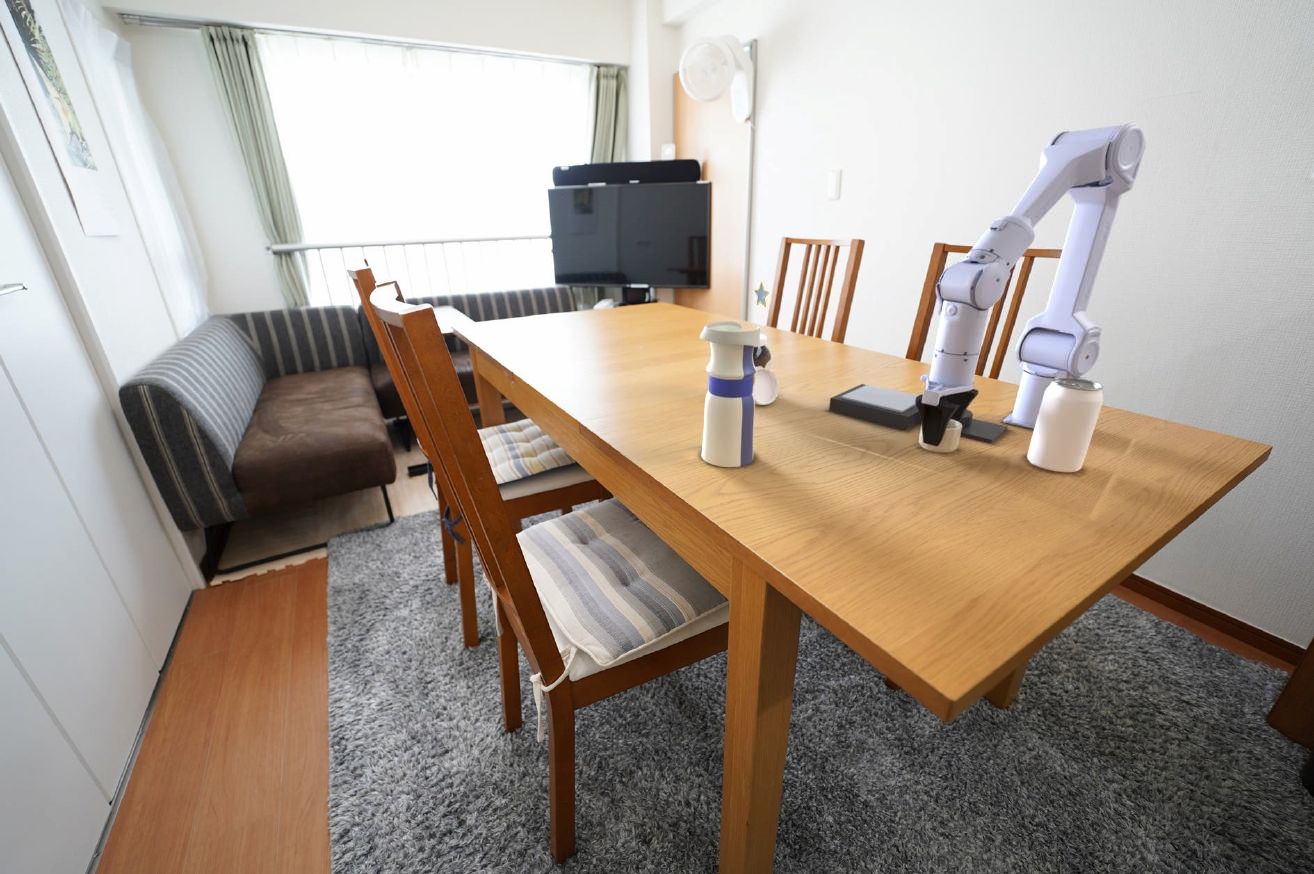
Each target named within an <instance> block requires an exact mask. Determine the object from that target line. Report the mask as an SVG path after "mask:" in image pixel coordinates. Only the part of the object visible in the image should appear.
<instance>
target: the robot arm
mask: <svg viewBox="0 0 1314 874" xmlns="http://www.w3.org/2000/svg"><path fill="white" fill-rule="evenodd" d="M1146 145H1147V142H1146V139H1145V136H1144V131H1143V130H1142V128H1141V126H1140V124H1138V123H1137V122H1127V123H1124V124H1119V125H1113V126H1105V127H1096V128H1088V129H1087V128H1086V129H1081V130H1080V129H1079V130H1073V131H1069V130H1066V131H1065V130H1063V131H1059V132H1058V133H1056V134H1055V135H1054V136H1053V137H1052V138H1051V139H1050V140H1049V142H1048V144H1047V145H1046V147H1045V148H1044V149H1043V150H1042V151H1041V154H1040V160H1039V171H1038V173H1037V174H1036V176H1035V177H1034V178H1033V180H1032V182H1030V184H1029V186H1028V187H1027V189H1026V190H1025V192H1024V193H1023V195H1022V196H1021V198H1020V199H1019V201H1018V202H1017V203H1016V205H1015V206H1014V208H1013V209H1012V211H1011V212H1010V213H1009V215H1003V216H1000V217H998V218H996V219H994V220H993V222H992V223H991V224H990V225H989V226H988V228H987V229H986V230H985V232H984V233H983V234H981V237H980V238H979V239H978V241H976V243H975V244H974V245H973V246H972V248H971V249H970V250H969V251H968V253H967V254H966V255H965V257H964V258H963V259H962V260H961V261H958V262H955V263H953V264H952V265H950V266H948V267H947V268H945V269H944V270H943V272H942V274H941V276H940V277H939V280H938V282H937V283H936V284H935V295H936V298H937V302H938V306H937V313H938V316H939V317H940V318H939V323H938V328H937V334H936V339H935V344H934V350H933V354H932V359H931V360H932V361H931V366H930V371H929V374H926V373H924V374H922V375H921V376H920V379H919V380H920V382H924V383H926V388H925V389H923V392H922V394H919V396H917V397H916V400H915V404H916V406H917V408H918V411H919V414H920V417H921V422H920V423H922V436H923V443H925V444H929V445H933V446H938V445H939V444H940V442H941V441H942V438H943V436H944V433H945V430H946V427H947V425H948V423H949V421H950V419H953V420H956V421H958V422H960V421H961V419H962V417H963V415H964V413H965V411H966V409H967V410H968V408H969V406H970V405H971V403H972V402H973V401H974V400H975V399H976V397H977V396H978V395H979V392H980V391H979V390H978V389H976V388H974V386H975V375H976V372H977V371H976V370H977V366H978V363H979V357H980V352H981V347H982V343H983V340H984V339H983V338H984V334H985V330H986V324H987V320H988V316H989V311H990V308H992V307H994V305H996V304H997V303H998V302H999V301H1000V300H1001V298H1002V296H1003V295H1004V292H1005V289H1006V286H1007V282H1008V281H1009V279H1010V276H1011V270H1012V269H1013V268H1014V266H1015V265H1016V264H1017V262H1018V261H1019V260H1020V259H1021V258H1022V257H1023V255H1024V254H1025V252H1026V251H1027V250H1028V249H1029V248H1030V246H1031V245H1032V244H1033V243H1034V241H1035V237H1036V236H1035V235H1036V234H1035V230H1034V227H1036V225H1038V223H1039V222H1040V221H1041V220H1042V219H1043V218H1044V217H1045V216H1046V215H1047V214H1048V213H1049V211H1051V209H1052V208H1053V207H1054V206H1056V204H1057V203H1058V202H1059V201H1060V200H1061V199H1062V198H1063V197H1064V196H1065V195H1066V194H1067V195H1069V196H1070V197H1071V198H1072V200H1073V202H1074V208H1073V212H1072V215H1071V219H1070V223H1069V225H1068V230H1067V233H1066V237H1065V241H1064V245H1063V248H1062V251H1061V253H1060V258H1059V262H1058V266H1057V268H1056V272H1055V276H1054V280H1053V284H1052V287H1051V290H1050V294H1049V297H1048V301H1047V305H1046V309H1045V310H1044V311H1042V312H1041V313H1039V314H1037V315H1035V316H1033V317H1031V318H1029V319H1028V320H1027V321H1026V324H1025V327H1024V330H1023V332H1022V333H1021V335H1020V337H1019V338H1018V340H1017V342H1016V345H1015V356H1016V357H1015V359H1016V360H1017V362H1018V363H1019V364H1020V365H1019V369H1022V370H1023V371H1022V375H1021V378H1020V383H1019V387H1018V390H1017V395H1016V399H1015V401H1014V402H1015V403H1014V406H1013V411H1012V412H1011V413H1010V414H1009V415H1007V416H1006V417H1005V418H1004V419H1003V423H1004V424H1009V425H1014V426H1018V427H1023V428H1027V429H1031V430H1034V428H1035V425H1036V421H1037V418H1038V414H1039V410H1040V407H1041V403H1042V400H1043V396H1044V393H1045V390H1046V389H1047V388H1048V387H1049V386H1050V385H1051V383H1052V379H1054V378H1077V379H1084V380H1089V381H1093V380H1092V378H1091V379H1090V378H1086V377H1082V376H1083V375H1085V374H1086V373H1088V372H1089V371H1090V370H1091V369H1092V368H1093V367H1094V366H1095V364H1096V362H1097V360H1098V358H1099V355H1100V351H1101V350H1100V342H1101V335H1102V331H1103V328H1102V327H1101V326H1100V325H1099V324H1098V323H1097V322H1096V321H1095V320H1094V319H1093V318H1092V317H1091V316H1090V315H1089V314H1088V313H1087V310H1088V307H1089V304H1090V300H1091V297H1092V294H1093V290H1094V287H1095V285H1096V281H1097V278H1098V274H1099V271H1100V267H1101V264H1102V261H1103V258H1104V255H1105V253H1106V252H1105V251H1106V249H1107V246H1108V243H1109V238H1110V235H1111V232H1112V228H1113V225H1114V222H1115V219H1116V216H1117V212H1118V208H1119V206H1120V204H1121V203H1120V202H1121V200H1122V197H1123V196H1122V195H1123V194H1126V193H1128V192H1129V191H1131V190H1132V189H1133V188H1134V185H1135V181H1136V179H1137V176H1138V172H1139V171H1140V166H1141V164H1142V160H1143V157H1144V154H1145V151H1146Z"/></svg>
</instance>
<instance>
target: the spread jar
mask: <svg viewBox="0 0 1314 874" xmlns="http://www.w3.org/2000/svg"><path fill="white" fill-rule="evenodd" d="M767 337H768V336H767V335H765V334H763V333H760V349H759V348H758V347H757V346H754V349H753V362H754V366H755V367H756V369H757V371H756V373H755V383H754V385H753V395H754V399H755V405H758V406H764V405H765V406H766V405H770V404H772V403H773V402H774V401H775V400H776V399H777V397H778V394H779V390H780V383H779V379H778V377H777V375H776V374H775V372H774V371H773V370H772V369H771V368H772V354H771V351H770V349H769V347H768V346H767V341H768V339H767Z"/></svg>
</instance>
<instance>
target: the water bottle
mask: <svg viewBox="0 0 1314 874" xmlns="http://www.w3.org/2000/svg"><path fill="white" fill-rule="evenodd" d="M753 291H754V293H755V295H756V297H757V299H756V306H759V305H760V304H762V306H763V307H764V308H766V307H767V302H766V301H767V300H766V297H767V296H768V295H769V293H770V292H769V291H768V290H766V289H765V286H764V283H763V281H760V284H759V288H756V289H754V290H753ZM760 334H761V326H760V325H759V326H757V328H756V329H753V330H745V331H742V324H740V323H739V322H737V321H733V320H731V321H730V320H724V321H715V322H710V323H707V324H705V325H704V327H703V330H702V331H701V333H700V335H699V338H700V339H701V340H703V341H705V342H708V343H709V345H710V353H711V355H710V361H709V363H708V364H707V366H706V369H705V371H706V372H707V373H708V390H707V392H706V395H705V400H704V415H703V434H702V445H701V458H702V460H703V461H704V462H706V463H707V464H710V465H713V466H716V467H722V468H740V467H743V466H747V465H749V464H750V463H752V462H753V461H754V445H755V444H754V440H755V439H754V436H755V434H754V432H755V414H756V413H755V412H756V411H755V410H756V404H755V399H754V395H753V385H754V383H755V373H756V371H757V369H756V367H755V366H754V362H753V349H754V346H757V347H758V348H759V349H760Z"/></svg>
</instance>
